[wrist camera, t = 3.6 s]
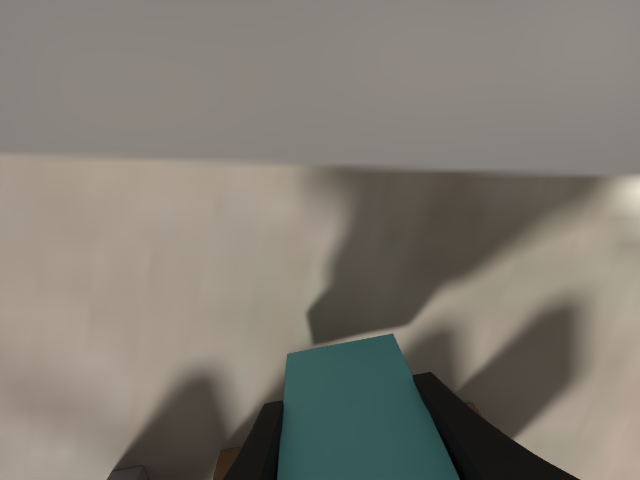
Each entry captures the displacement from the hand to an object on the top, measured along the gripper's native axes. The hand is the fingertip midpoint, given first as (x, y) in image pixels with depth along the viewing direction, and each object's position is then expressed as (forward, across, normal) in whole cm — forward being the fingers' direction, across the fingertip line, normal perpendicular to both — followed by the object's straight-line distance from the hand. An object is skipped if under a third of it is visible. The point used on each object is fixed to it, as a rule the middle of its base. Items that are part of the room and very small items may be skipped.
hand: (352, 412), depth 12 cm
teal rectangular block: (+3, 0, 0) cm, 3 cm away
